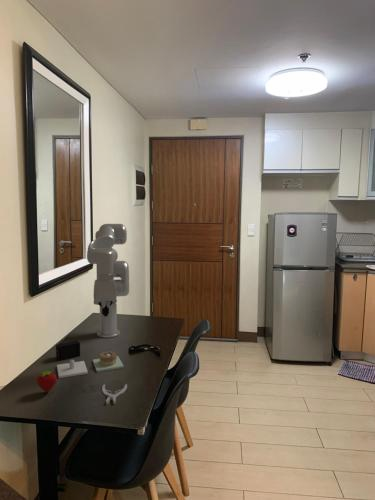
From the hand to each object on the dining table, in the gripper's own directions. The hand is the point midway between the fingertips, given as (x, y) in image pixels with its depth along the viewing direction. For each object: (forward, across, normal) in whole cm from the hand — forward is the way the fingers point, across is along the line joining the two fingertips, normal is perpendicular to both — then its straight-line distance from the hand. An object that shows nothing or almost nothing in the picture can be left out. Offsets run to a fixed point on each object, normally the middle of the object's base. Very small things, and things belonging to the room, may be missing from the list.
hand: (105, 315), depth 174 cm
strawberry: (+22, +27, +22) cm, 41 cm away
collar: (+21, 0, +5) cm, 22 cm away
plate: (+22, 0, +5) cm, 23 cm away
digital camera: (+22, +16, -11) cm, 30 cm away
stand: (+22, +16, +5) cm, 28 cm away
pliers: (+23, +3, +33) cm, 40 cm away
